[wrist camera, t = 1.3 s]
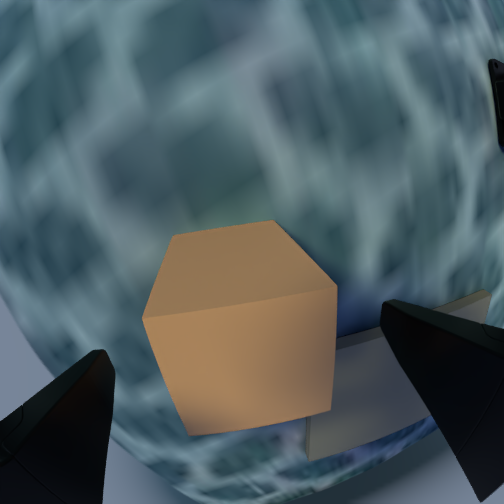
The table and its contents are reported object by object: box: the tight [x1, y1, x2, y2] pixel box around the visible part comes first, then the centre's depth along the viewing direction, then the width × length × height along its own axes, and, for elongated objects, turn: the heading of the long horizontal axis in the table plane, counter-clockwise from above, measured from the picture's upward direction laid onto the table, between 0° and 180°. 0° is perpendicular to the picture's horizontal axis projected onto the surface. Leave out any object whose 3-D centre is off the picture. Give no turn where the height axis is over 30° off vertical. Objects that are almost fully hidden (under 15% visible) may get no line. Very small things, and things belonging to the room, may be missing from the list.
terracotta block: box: [142, 220, 337, 436], centre depth 10 cm, size 4×4×7 cm
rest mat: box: [306, 289, 492, 462], centre depth 18 cm, size 15×12×1 cm
